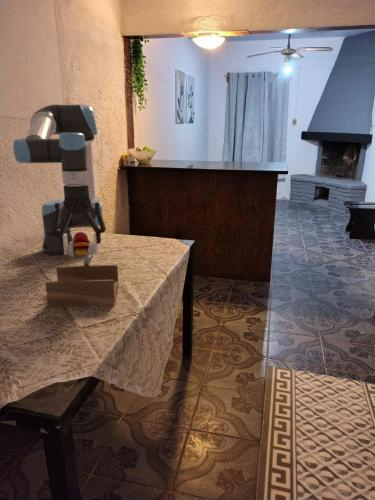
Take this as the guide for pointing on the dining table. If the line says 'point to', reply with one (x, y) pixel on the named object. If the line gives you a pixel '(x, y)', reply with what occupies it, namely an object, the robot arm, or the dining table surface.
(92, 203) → the robot arm
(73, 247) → the rainbow disc toy
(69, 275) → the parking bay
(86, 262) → the rod
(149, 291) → the dining table surface
